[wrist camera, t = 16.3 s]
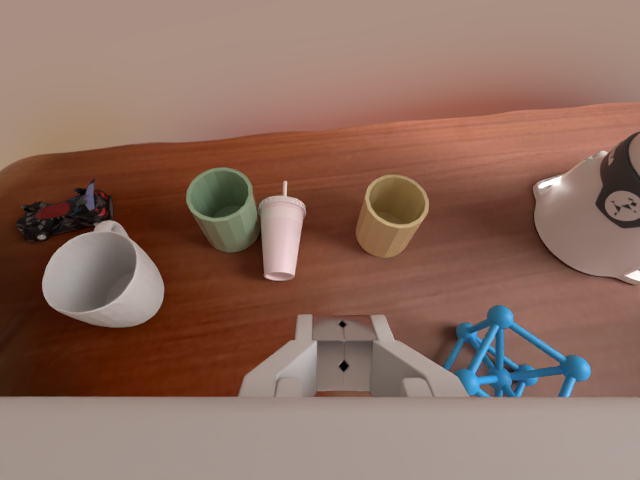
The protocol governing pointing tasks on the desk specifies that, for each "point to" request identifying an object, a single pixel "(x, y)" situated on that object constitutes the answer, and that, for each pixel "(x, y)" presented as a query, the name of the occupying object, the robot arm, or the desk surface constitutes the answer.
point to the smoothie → (281, 234)
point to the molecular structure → (499, 376)
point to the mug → (103, 279)
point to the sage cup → (225, 208)
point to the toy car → (66, 214)
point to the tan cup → (390, 215)
